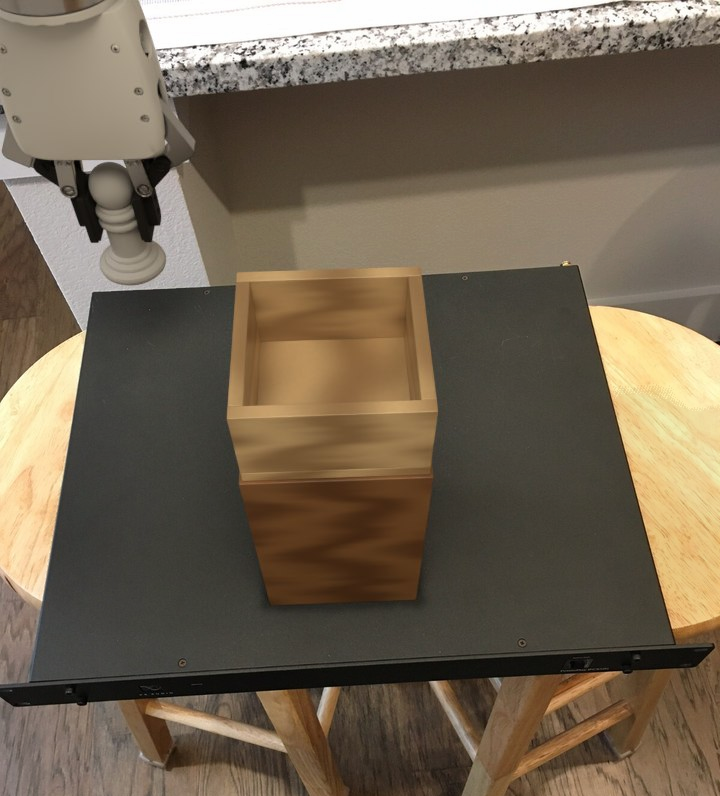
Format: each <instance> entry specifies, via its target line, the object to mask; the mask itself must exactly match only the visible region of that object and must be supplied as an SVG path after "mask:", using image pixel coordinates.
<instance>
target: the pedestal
mask: <svg viewBox="0 0 720 796" xmlns="http://www.w3.org/2000/svg"><path fill="white" fill-rule="evenodd" d="M434 477H435V476H434V469H433V461H432V462H431V468H430V474H422V475H394V476H367V477H339V478H312V479H284V480H256V481H242V478H241V474H240V470H239V472H238V487H239V490H240V495H241V499H242V502H243V506H244V511H245V514H246V518H247V522H248V526H249V529H250V533H251V536H252V541H253V545H254V549H255V552H256V556H257V560H258V564H259V567H260V568H259V569H260V572H261V576H262V579H263V583H264V587H265V591H266V594H267V598H268V602H269V605H270V606H289V605H292V606H293V605H316V604H318V605H319V604H341V603H342V604H343V603H367V602H368V603H370V602H371V603H372V602H390V601H391V602H394V601H415V600H417V595H418V589H419V581H420V575H421V570H422V569H421V567H422V561H423V553H424V547H425V541H426V533H427V527H428V521H429V520H428V519H429V513H430V504H431V499H432V490H433V485H434Z"/></svg>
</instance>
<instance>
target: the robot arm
mask: <svg viewBox="0 0 720 796" xmlns="http://www.w3.org/2000/svg"><path fill="white" fill-rule="evenodd" d="M162 71H163V70H162V68H161V65H160V60H159V57H158V53H157V50H156V47H155V44H154V40H153V36H152V34H151V31H150V27H149V24H148V22H147V18H146V16H145V14H144V10H143V8H142V5H141V3H140V0H0V103H1V106H2V108H3V111H4V115H5V118H6V120H7V124H6V129H5V133H4V137H3V142H2V148H1V154H2V156H3V157H4V158H5V159H7V160H9V161H12V162H14V163H17V164H18V165H22V166H23V167H25V168H29V169H31V168H32V169H33V170H34V171H35V172H36V174H38V175H40V176H41V177H43V178H44V179H46V180H47V181H49V182H51V183H52V184H54V185H55V186H57V187H58V188H59V192H60V193H61V195H62V196H64V197H65V198H68V199H69V200H70V203H71V206H72V208H73V211H74V214H75V217H76V220H77V222H78V225H79V226H80V227H82V228H83V227H85V230H86V233H87V236H88V240H89V242H90V243H91V244H99V242H101V241H102V238H103V234H104V231H105V230H104V229H103V228H102V227H101V225H100V224H99V217H98V216H97V214H96V211H95V209H96V204H97V203H96V201H95V200H94V199H93V197H92V196H91V193H90V190H89V184H88V181H89V175H90V173H87V172H85V171H84V165H83V161H123V163H124V167H125V168H126V169H127V171H128V173H129V176H130V178H131V181H132V183H133V192H132V197H131V203H132V207H133V210H134V214H135V217H136V221H137V225H138V228H139V232H140V236H141V239H142V241H144V242H152V240H153V239H154V234H155V233H154V232H155V227H160V226H161V223H162V210H161V206H160V202H159V197H158V194H157V190H156V187H157V186H158V185H159V184H160V183H161V181H162V180H163V179H164V178H165V177H167V175H168V174H169V172H170V171H171V169H173V168H176V167H178V166H181V164H183V163H185V162H188V161H189V160H190V159H193V157H194V156H195V152H196V143H197V142H196V140H195V138H194V137H193V136H192V134H191V133H190V132H189V130H188V129H187V128H186V127H185V125H184V124H183V123H182V122H181V121H180V119H179V118H178V117H177V116H176V114H175V113H174V112H173V111H172V110H171V105H170V101H169V95H168V92H167V86H166V83H165V79H164V76H163V72H162Z"/></svg>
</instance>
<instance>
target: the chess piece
mask: <svg viewBox="0 0 720 796" xmlns="http://www.w3.org/2000/svg"><path fill="white" fill-rule="evenodd" d="M89 174H90V175H89V181H88V184H89V190H90V193H91V196H92V197H93V199H94V200H95V201H96V203H97V204H96V209H95V211H96V214H97V216H98V217H99V224H100V225H101V227H102V228H103V229H104V230H103V231H106V235H107V238H108V241H109V245H108V246H107V247H105V249H104V250H103V251H102V253H101V254H100V256H99V262H98V263H99V270H100V272H101V273H102V275H103V276H104V277H105V278H106V279H107V280H109V281H110V282H112V283H114V284H116V285H121V286H131V287H132V286H138V285H143V284H146V283H149V282H151V281H153V280H154V279H155V278H158V276H159V275H161V273H162V272H163V271H164V270H165V268H166V263H167V254H166V252H165V250H164V249H163V247H162V246H161V245H160V243H158V242H157V241H154V240H153V239H152V242H144V241H142V239H141V236H140V232H139V228H138V225H137V221H136V217H135V214H134V210H133V207H132V203H131V197H132V192H133V183H132V181H131V178H130V176H129V173H128V171H127V168H126V166H125V165H122V164H121V163H119V162H114V161H104V162H101V163H98V164H97V165H95V166H94V167H93V168H92V169H91V171H90V172H89Z"/></svg>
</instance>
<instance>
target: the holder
mask: <svg viewBox="0 0 720 796" xmlns="http://www.w3.org/2000/svg"><path fill="white" fill-rule="evenodd" d="M233 307H234V308H233V321H232V335H231V336H232V337H231V347H230V348H231V349H230V364H229V379H228V380H229V382H228V393H227V394H228V395H227V406H226V422H227V426H228V431H229V433H230V438H231V442H232V446H233V450H234V453H235V458H236V462H237V466H238V469H239V470H240V474H241V478H242V481H256V480H284V479H312V478H339V477H367V476H394V475H422V474H430V468H431V462H432V463H433V454H434V446H435V445H434V444H435V439H436V431H437V425H438V417H439V405H438V400H437V399H438V397H437V390H436V380H435V373H434V366H433V365H434V364H433V357H432V348H431V340H430V332H429V323H428V316H427V308H426V299H425V291H424V283H423V276H422V268H421V266H396V267H395V266H394V267H364V268H363V267H361V268H331V269H330V268H329V269H302V270H301V269H299V270H298V269H297V270H295V269H294V270H266V271H237V272H236V278H235V293H234V305H233Z"/></svg>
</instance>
